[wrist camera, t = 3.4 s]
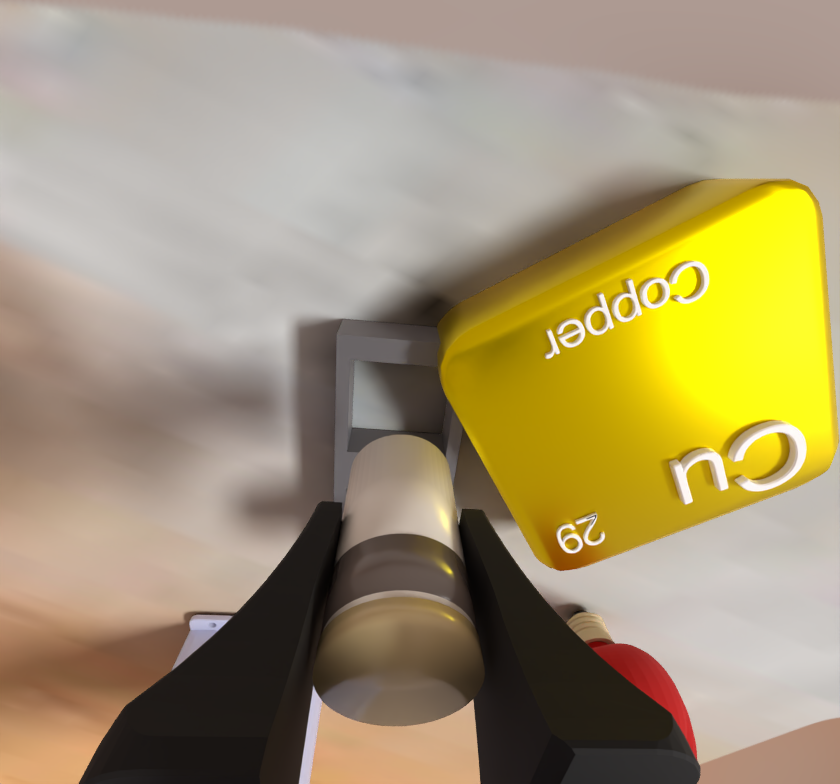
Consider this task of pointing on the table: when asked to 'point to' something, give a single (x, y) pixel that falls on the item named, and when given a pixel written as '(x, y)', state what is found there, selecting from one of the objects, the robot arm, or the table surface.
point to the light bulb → (634, 668)
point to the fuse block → (384, 347)
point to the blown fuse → (399, 594)
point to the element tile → (652, 370)
